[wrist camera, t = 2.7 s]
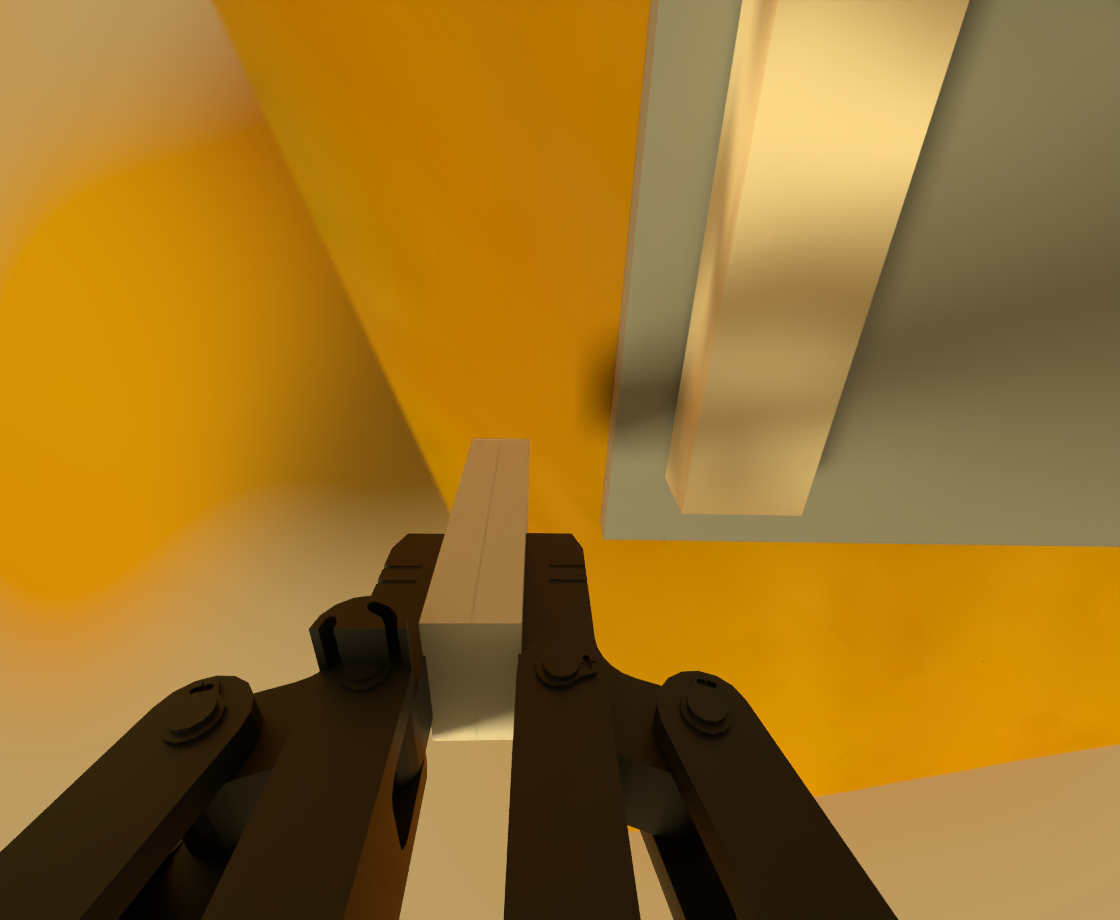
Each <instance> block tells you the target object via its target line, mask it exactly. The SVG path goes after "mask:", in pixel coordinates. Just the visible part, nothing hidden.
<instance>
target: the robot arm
mask: <svg viewBox="0 0 1120 920" xmlns="http://www.w3.org/2000/svg"><path fill="white" fill-rule="evenodd" d="M528 486H529V439H492V438H473V440H472V443H471V447H470V450H469V454H468V457H467V460H466V464H465V467H464V471H463V474H462V478H461V481H460V484H459V488H458V491H457V495H456V498H455V501H454V505H453V508H452V512H451V515H450V518H449V522H448V525H447V529H446V532H445V534H407V535H406V536H405V537H404V538H403V539H402V540H401V541H400V542H398V543H397V544H396V545H395V546H394V547H393V548H392V550H391V552H390V554H389V556H388V558H387V561H386V563H385V565H384V569H383V570H382V572H381V574H380V577H379V579H378V584H376V586H375V588H374V591H373V593H372V595H371V596H365V597H357V598H352V599H350V600H347V601H345V602H342V603H339V604H337V605H335V606H333V607H332V608H330V609H329V610H327V611H326V612H324V613H323V614H322V615H320V616H319V617H318V619H317V620H316V621H315V622H314V623H313V625H312V626H311V627H310V628H309V631H310V635H311V639H312V643H313V647H314V651H315V654H316V658H317V662H318V666H319V669H320V671H319V673H317V674H315V675H313V676H311V677H309V678H306V679H303V680H300V681H297V682H295V683H291V684H287V685H283V686H280V687H276V688H273V689H269V690H265V691H261V692H258V693H254V694H253V692H252V690H251V688H250V685H249V683H248V682H246V681H244V680H242V679H240V678H238V677H236V676H214V677H210V678H206V679H202V680H198V681H195V682H193V683H191V684H189V685H187V686H185V687H183V688H181V689H179V690H177V691H175V692H173V693H172V694H170V695H169V696H168V697H166V698H165V699H164V700H162V701H161V702H160V703H158V704H157V705H156V706H155V707H153V708H152V709H151V710H150V711H149V712H148V713H147V714H146V715H145V716H144V717H143V718H142V719H141V720H139V721H138V722H137V723H136V724H135V725H134V726H133V727H132V728H131V729H130V730H129V731H128V732H127V733H126V734H125V735H124V736H123V737H121V738H120V739H119V740H118V741H117V742H116V743H115V744H114V745H113V746H112V747H111V748H110V749H109V750H108V751H107V752H106V753H105V754H104V755H102V756H101V757H100V758H99V759H98V760H97V761H96V762H95V763H94V764H93V765H92V766H91V767H90V768H89V769H88V770H87V771H86V772H84V773H83V774H82V775H81V776H80V777H79V778H78V779H77V780H76V781H75V782H74V783H73V784H72V785H71V786H70V787H69V788H68V789H66V791H64V792H63V793H62V794H61V795H60V796H59V797H58V798H57V799H56V800H55V801H54V802H53V803H52V804H51V805H50V806H49V807H47V809H45V810H44V811H43V812H42V813H41V814H40V815H39V816H38V817H37V818H36V819H35V820H34V821H33V822H32V823H31V824H30V825H28V827H26V828H25V829H24V830H23V831H22V832H21V833H20V834H19V835H18V836H17V837H16V838H15V839H14V840H13V841H12V842H10V843H9V844H8V846H6V847H5V848H4V849H3V850H2V851H1V852H0V920H399V916H400V912H401V907H402V901H403V896H404V891H405V886H406V881H407V876H408V871H409V865H410V860H411V855H412V850H413V845H414V840H415V835H416V830H417V825H418V820H419V815H420V809H421V804H422V799H423V794H424V789H425V784H426V779H427V759H426V746H427V742H428V737H429V733H430V728H431V727H432V735H433V740H434V741H435V740H436V741H437V740H438V741H442V740H513V749H512V768H511V769H512V770H511V787H510V808H509V826H508V847H507V866H506V884H505V905H504V920H641V919H640V912H639V905H638V898H637V891H636V884H635V878H634V871H633V864H632V856H631V849H630V842H629V835H628V828H627V825H629V826H631V827H634V828H637V829H640V832H641V834H642V837H643V840H644V842H645V845H646V848H647V850H648V853H649V855H650V858H651V861H652V863H653V866H654V869H655V871H656V874H657V877H658V879H659V882H660V885H661V887H662V890H663V893H664V895H665V898H666V901H667V903H668V906H669V909H670V911H671V914H672V917H673V919H674V920H898V919H897V917H896V916H895V914H894V913H893V911H892V910H891V909H890V907H889V906H888V904H887V903H886V902H885V900H884V898H883V897H882V896H881V894H880V893H879V891H878V890H877V888H876V887H875V885H874V884H873V883H872V881H871V880H870V878H869V877H868V875H867V874H866V873H865V871H864V870H863V868H862V867H861V865H860V864H859V862H858V861H857V859H856V858H855V857H854V855H853V854H852V852H851V851H850V849H849V848H848V847H847V845H846V844H845V842H844V841H843V839H842V838H841V836H840V835H839V833H838V832H837V831H836V829H835V828H834V826H833V825H832V824H831V822H830V820H829V819H828V818H827V816H826V815H825V813H824V812H823V810H822V809H821V807H820V806H819V805H818V803H817V802H816V800H815V799H814V797H813V796H812V794H811V793H810V792H809V790H808V789H807V787H806V786H805V784H804V783H803V781H802V780H801V779H800V777H799V776H798V774H797V773H796V771H795V770H794V768H793V767H792V766H791V764H790V763H789V761H788V760H787V758H786V757H785V756H784V754H783V753H782V751H781V750H780V748H779V747H778V745H777V744H776V743H775V741H774V740H773V738H772V737H771V735H770V734H769V732H768V731H767V730H766V728H765V727H764V725H763V724H762V722H761V721H760V719H759V718H758V717H757V715H756V714H755V712H754V711H753V709H752V708H751V706H750V705H749V704H748V702H747V701H746V700H745V698H744V697H743V696H742V695H741V694H740V693H739V692H738V691H737V690H736V689H735V688H734V687H733V686H732V685H730V684H729V683H727V682H725V681H724V680H722V679H720V678H719V677H717V676H715V675H711V674H708V673H704V672H700V671H686V672H680V673H678V674H676V675H674V676H671V677H669V678H668V679H667V680H666V681H665V683H664V684H663V685H662V686H660V685H657V684H653V683H650V682H647V681H643V680H640V679H636V678H634V677H631V676H629V675H626V674H624V673H622V672H620V671H619V670H617V669H616V668H614V667H613V666H611V665H610V664H609V663H608V662H607V661H606V660H605V659H604V658H603V656H602V654H601V653H600V651H599V650H598V648H597V644H596V641H595V637H594V629H593V622H592V614H591V607H590V599H589V592H588V584H587V577H586V569H585V561H584V554H583V548H582V547H581V545H580V544H579V543H578V542H577V540H576V539H575V538H574V536H573V535H572V534H555V533H528Z"/></svg>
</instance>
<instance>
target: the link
mask: <svg viewBox="0 0 1120 920" xmlns="http://www.w3.org/2000/svg"><path fill="white" fill-rule="evenodd" d="M968 3H969V0H742V6H741V13H740V19H739V25H738V31H737V37H736V43H735V50H734V56H733V62H732V68H731V74H730V80H729V86H728V93H727V99H726V105H725V111H724V117H723V123H722V130H721V136H720V142H719V148H718V154H717V160H716V167H715V173H714V179H713V185H712V191H711V197H710V203H709V210H708V216H707V222H706V228H705V234H704V240H703V247H702V253H701V259H700V265H699V271H698V277H697V284H696V290H695V296H694V302H693V308H692V314H691V320H690V327H689V333H688V339H687V345H686V351H685V357H684V364H683V370H682V376H681V382H680V388H679V394H678V401H677V407H676V413H675V419H674V425H673V431H672V438H671V444H670V450H669V456H668V462H667V468H666V474H665V479H666V481H667V483H668V485H669V487H670V489H671V492H672V494H673V496H674V498H675V500H676V503H677V505H678V507H679V509H680V511H681V514H721V515H779V516H802V513H803V510H804V507H805V504H806V501H807V498H808V495H809V492H810V489H811V485H812V482H813V479H814V476H815V473H816V470H817V467H818V464H819V461H820V458H821V455H822V452H823V449H824V446H825V442H826V439H827V436H828V433H829V430H830V427H831V424H832V421H833V418H834V415H835V412H836V409H837V406H838V403H839V399H840V396H841V393H842V390H843V387H844V384H845V381H846V378H847V375H848V372H849V369H850V366H851V363H852V360H853V356H854V353H855V350H856V347H857V344H858V341H859V338H860V335H861V332H862V329H863V326H864V323H865V320H866V317H867V313H868V310H869V307H870V304H871V301H872V298H873V295H874V292H875V289H876V286H877V283H878V280H879V277H880V274H881V270H882V267H883V264H884V261H885V258H886V255H887V252H888V249H889V246H890V243H891V240H892V237H893V234H894V231H895V228H896V224H897V221H898V218H899V215H900V212H901V209H902V206H903V203H904V200H905V197H906V194H907V191H908V188H909V185H910V181H911V178H912V175H913V172H914V169H915V166H916V163H917V160H918V157H919V154H920V151H921V148H922V145H923V142H924V138H925V135H926V132H927V129H928V126H929V123H930V120H931V117H932V114H933V111H934V108H935V105H936V102H937V99H938V95H939V92H940V89H941V86H942V83H943V80H944V77H945V74H946V71H947V68H948V65H949V62H950V59H951V56H952V52H953V49H954V46H955V43H956V40H957V37H958V34H959V31H960V28H961V25H962V22H963V19H964V16H965V13H966V9H967V6H968Z"/></svg>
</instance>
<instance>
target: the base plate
mask: <svg viewBox="0 0 1120 920" xmlns="http://www.w3.org/2000/svg"><path fill="white" fill-rule="evenodd" d="M741 6H742V0H651V6H650V16H649V26H648V37H647V47H646V57H645V68H644V78H643V88H642V99H641V109H640V119H639V130H638V140H637V151H636V161H635V171H634V182H633V192H632V202H631V213H630V223H629V233H628V244H627V254H626V264H625V275H624V285H623V295H622V306H621V316H620V327H619V337H618V347H617V358H616V368H615V378H614V389H613V399H612V409H611V420H610V430H609V440H608V451H607V461H606V472H605V482H604V492H603V503H602V513H601V527H602V532H603V538H604V539H616V540H685V541H754V542H823V543H892V544H961V545H1031V546H1100V547H1120V0H969V3H968V6H967V9H966V13H965V16H964V19H963V22H962V25H961V28H960V31H959V34H958V37H957V40H956V43H955V46H954V49H953V52H952V56H951V59H950V62H949V65H948V68H947V71H946V74H945V77H944V80H943V83H942V86H941V89H940V92H939V95H938V99H937V102H936V105H935V108H934V111H933V114H932V117H931V120H930V123H929V126H928V129H927V132H926V135H925V138H924V142H923V145H922V148H921V151H920V154H919V157H918V160H917V163H916V166H915V169H914V172H913V175H912V178H911V181H910V185H909V188H908V191H907V194H906V197H905V200H904V203H903V206H902V209H901V212H900V215H899V218H898V221H897V224H896V228H895V231H894V234H893V237H892V240H891V243H890V246H889V249H888V252H887V255H886V258H885V261H884V264H883V267H882V270H881V274H880V277H879V280H878V283H877V286H876V289H875V292H874V295H873V298H872V301H871V304H870V307H869V310H868V313H867V317H866V320H865V323H864V326H863V329H862V332H861V335H860V338H859V341H858V344H857V347H856V350H855V353H854V356H853V360H852V363H851V366H850V369H849V372H848V375H847V378H846V381H845V384H844V387H843V390H842V393H841V396H840V399H839V403H838V406H837V409H836V412H835V415H834V418H833V421H832V424H831V427H830V430H829V433H828V436H827V439H826V442H825V446H824V449H823V452H822V455H821V458H820V461H819V464H818V467H817V470H816V473H815V476H814V479H813V482H812V485H811V489H810V492H809V495H808V498H807V501H806V504H805V507H804V510H803V513H802V516H779V515H721V514H681V511H680V509H679V507H678V505H677V503H676V500H675V498H674V496H673V494H672V492H671V489H670V487H669V485H668V483H667V481H666V479H665V474H666V468H667V462H668V456H669V450H670V444H671V438H672V431H673V425H674V419H675V413H676V407H677V401H678V394H679V388H680V382H681V376H682V370H683V364H684V357H685V351H686V345H687V339H688V333H689V327H690V320H691V314H692V308H693V302H694V296H695V290H696V284H697V277H698V271H699V265H700V259H701V253H702V247H703V240H704V234H705V228H706V222H707V216H708V210H709V203H710V197H711V191H712V185H713V179H714V173H715V167H716V160H717V154H718V148H719V142H720V136H721V130H722V123H723V117H724V111H725V105H726V99H727V93H728V86H729V80H730V74H731V68H732V62H733V56H734V50H735V43H736V37H737V31H738V25H739V19H740V13H741Z"/></svg>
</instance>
